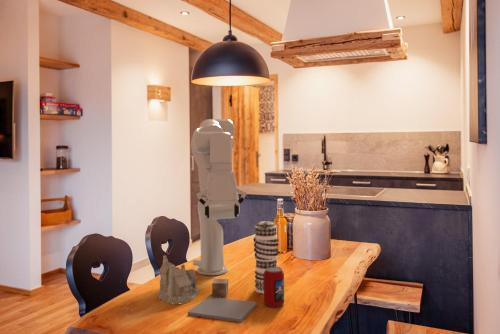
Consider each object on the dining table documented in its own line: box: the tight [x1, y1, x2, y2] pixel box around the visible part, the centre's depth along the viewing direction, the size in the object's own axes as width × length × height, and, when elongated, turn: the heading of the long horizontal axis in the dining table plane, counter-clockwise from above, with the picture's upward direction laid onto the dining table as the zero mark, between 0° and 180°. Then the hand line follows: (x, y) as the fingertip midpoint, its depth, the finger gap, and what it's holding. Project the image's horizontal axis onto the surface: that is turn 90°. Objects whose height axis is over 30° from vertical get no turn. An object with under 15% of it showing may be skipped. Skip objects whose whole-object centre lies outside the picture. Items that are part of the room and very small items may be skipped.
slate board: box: [187, 295, 258, 323], centre depth 144 cm, size 18×15×1 cm
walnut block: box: [211, 278, 229, 298], centre depth 159 cm, size 5×5×5 cm
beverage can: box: [263, 266, 285, 308], centre depth 148 cm, size 7×7×12 cm
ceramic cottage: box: [157, 255, 200, 305], centre depth 159 cm, size 16×16×15 cm
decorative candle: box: [253, 220, 280, 295], centre depth 163 cm, size 9×9×25 cm
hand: (222, 217), depth 155 cm, fingers open, 9 cm apart
